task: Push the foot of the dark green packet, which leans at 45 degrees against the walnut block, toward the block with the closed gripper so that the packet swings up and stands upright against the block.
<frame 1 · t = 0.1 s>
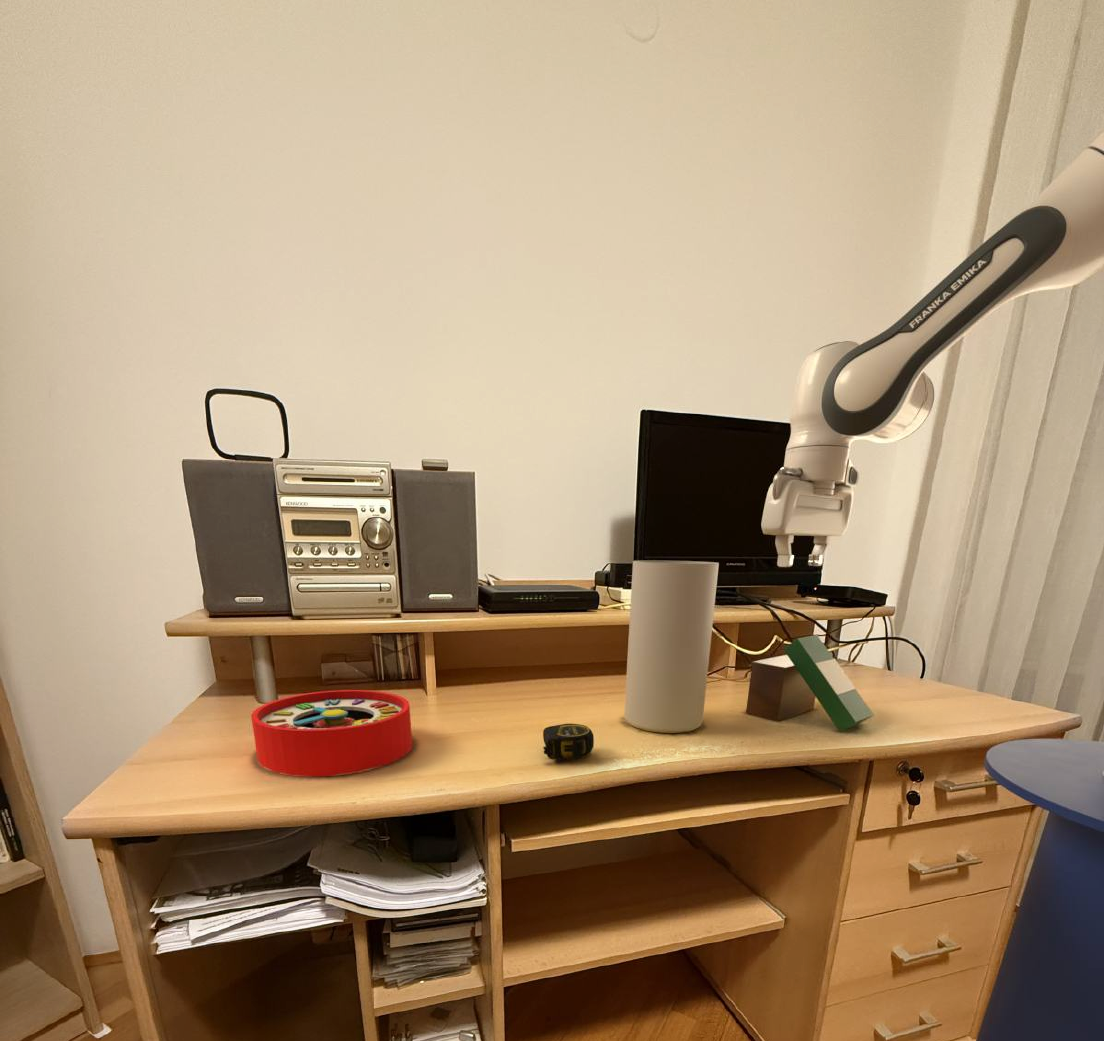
hand: (800, 566, 92), 24 cm above the table, tool pointing down, fingers open, 8 cm apart
cylinder vase: (662, 723, 94), on the table
tape measure: (563, 757, 79), on the table
block: (780, 711, 102), on the table
packet: (827, 681, 94), point 7 cm above the table, touching block
toy clock: (338, 750, 80), on the table
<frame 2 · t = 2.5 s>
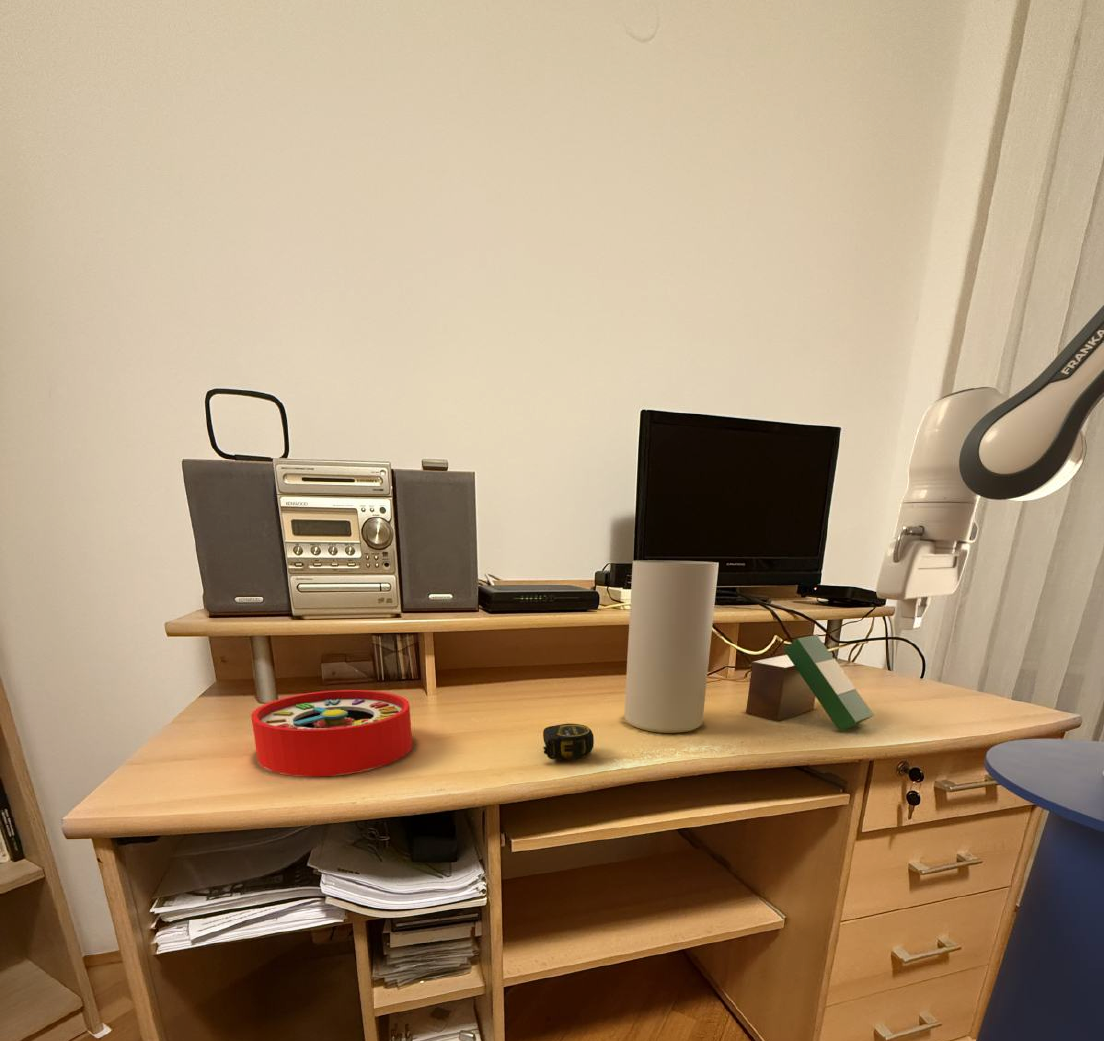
hand: (909, 629, 84), 16 cm above the table, tool pointing down, fingers closed
nothing on the table moved.
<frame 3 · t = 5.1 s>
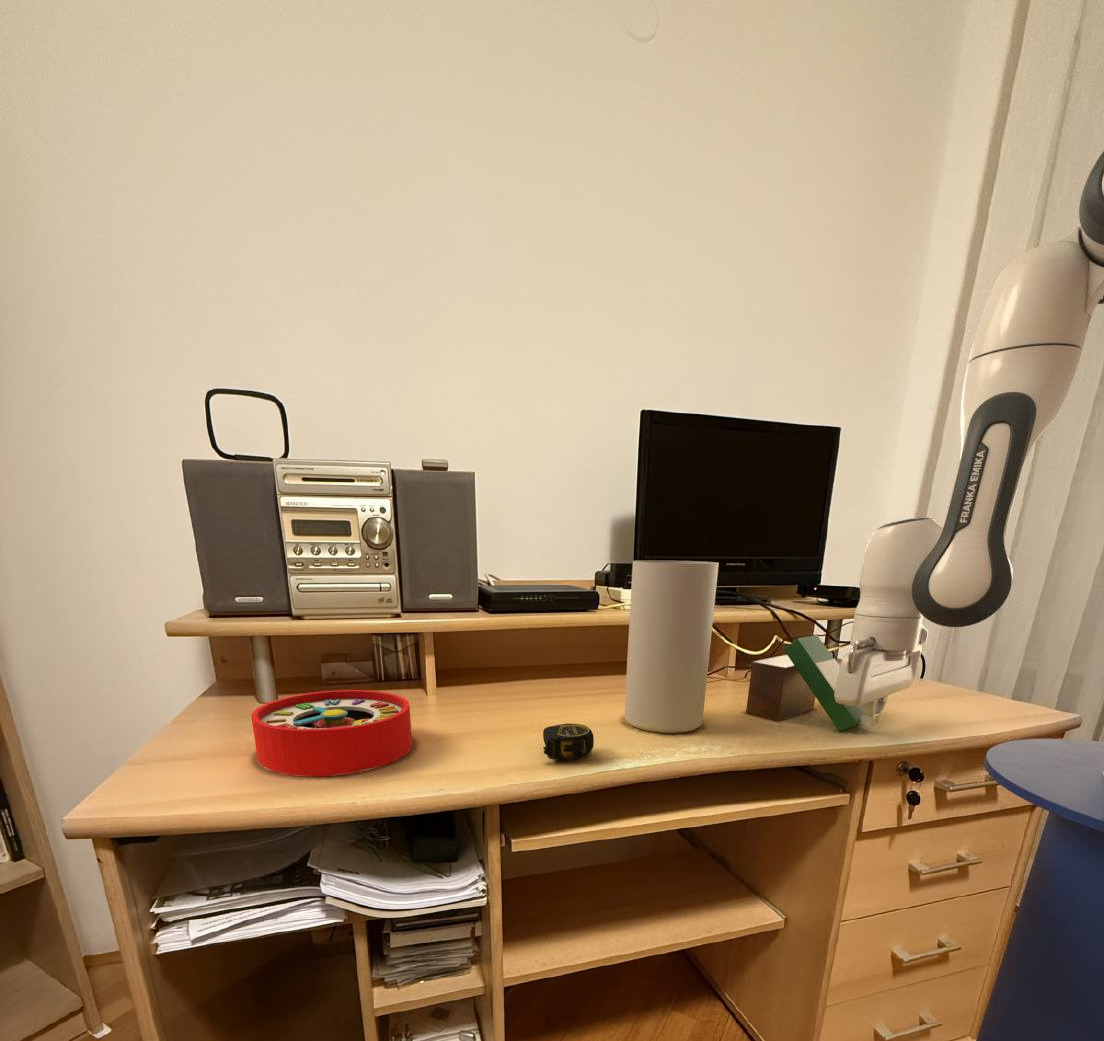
hand: (869, 724, 91), 1 cm above the table, tool pointing down, fingers closed, pressing on packet
packet: (827, 681, 94), point 7 cm above the table, touching block, gripper
everything else where it was.
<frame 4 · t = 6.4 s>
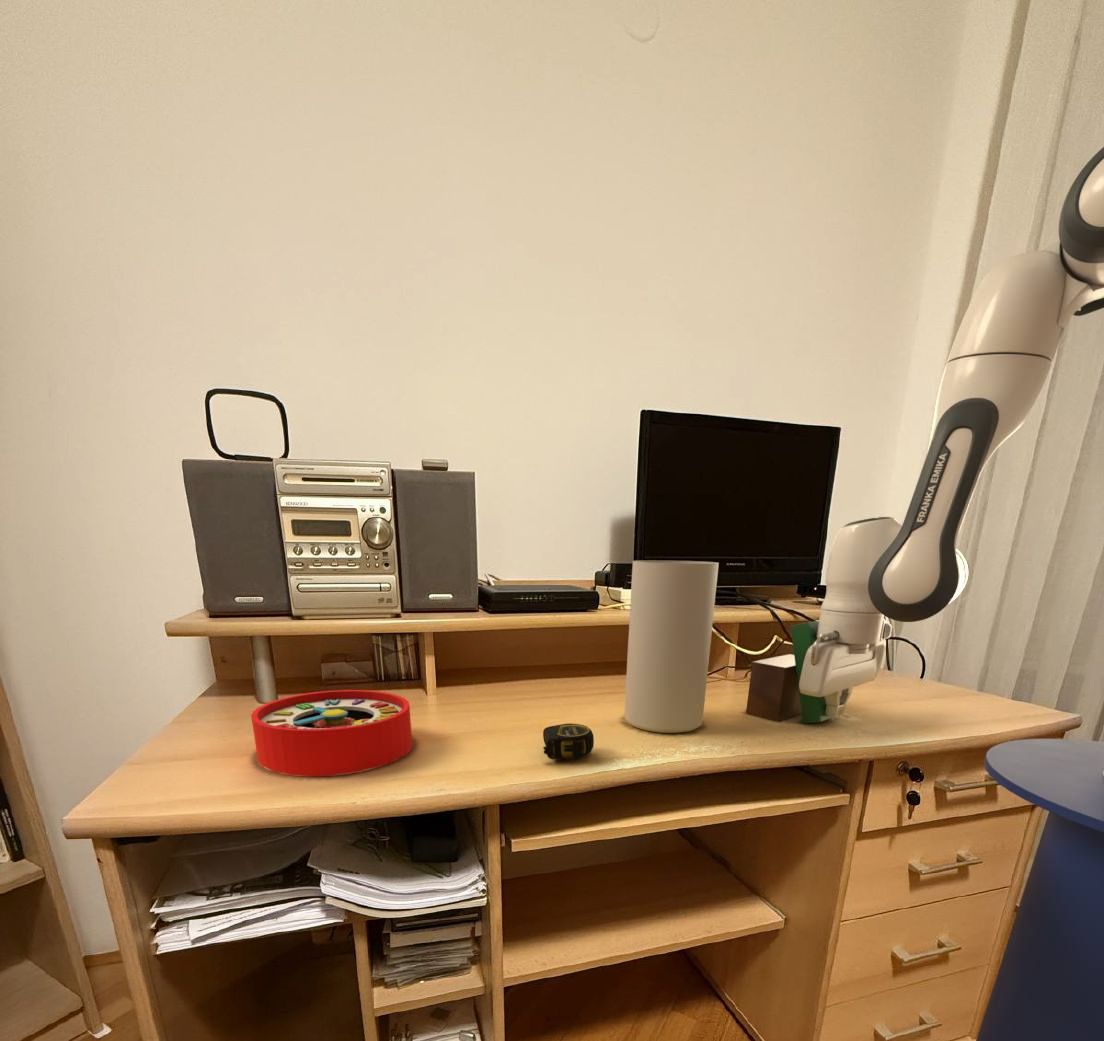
hand: (834, 714, 95), 2 cm above the table, tool pointing down, fingers closed, pressing on packet
packet: (815, 671, 96), point 8 cm above the table, tilted 28°, touching arm, gripper
everything else where it was.
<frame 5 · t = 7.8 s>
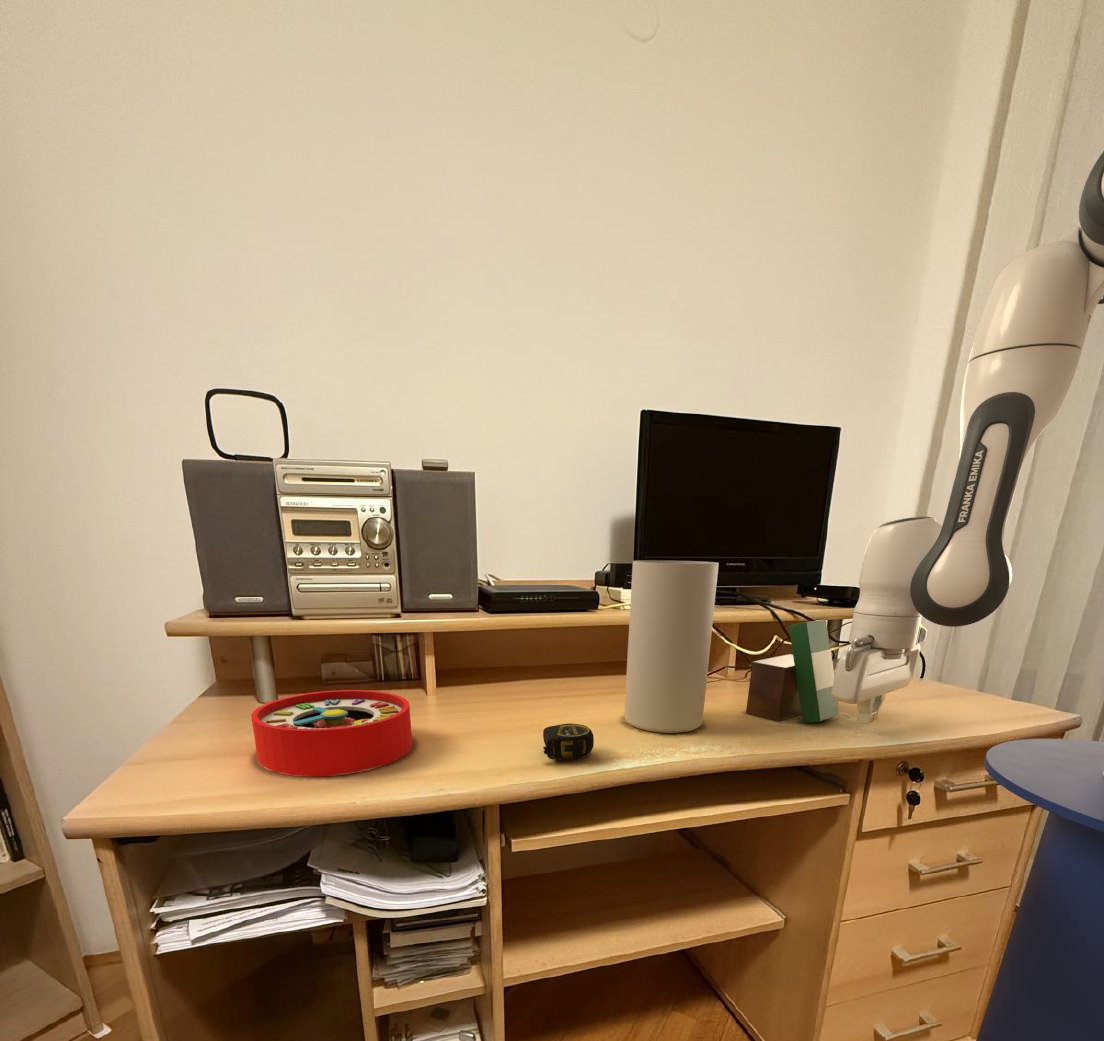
hand: (866, 722, 91), 2 cm above the table, tool pointing down, fingers closed
packet: (814, 670, 96), point 8 cm above the table, tilted 27°, touching block
everything else where it was.
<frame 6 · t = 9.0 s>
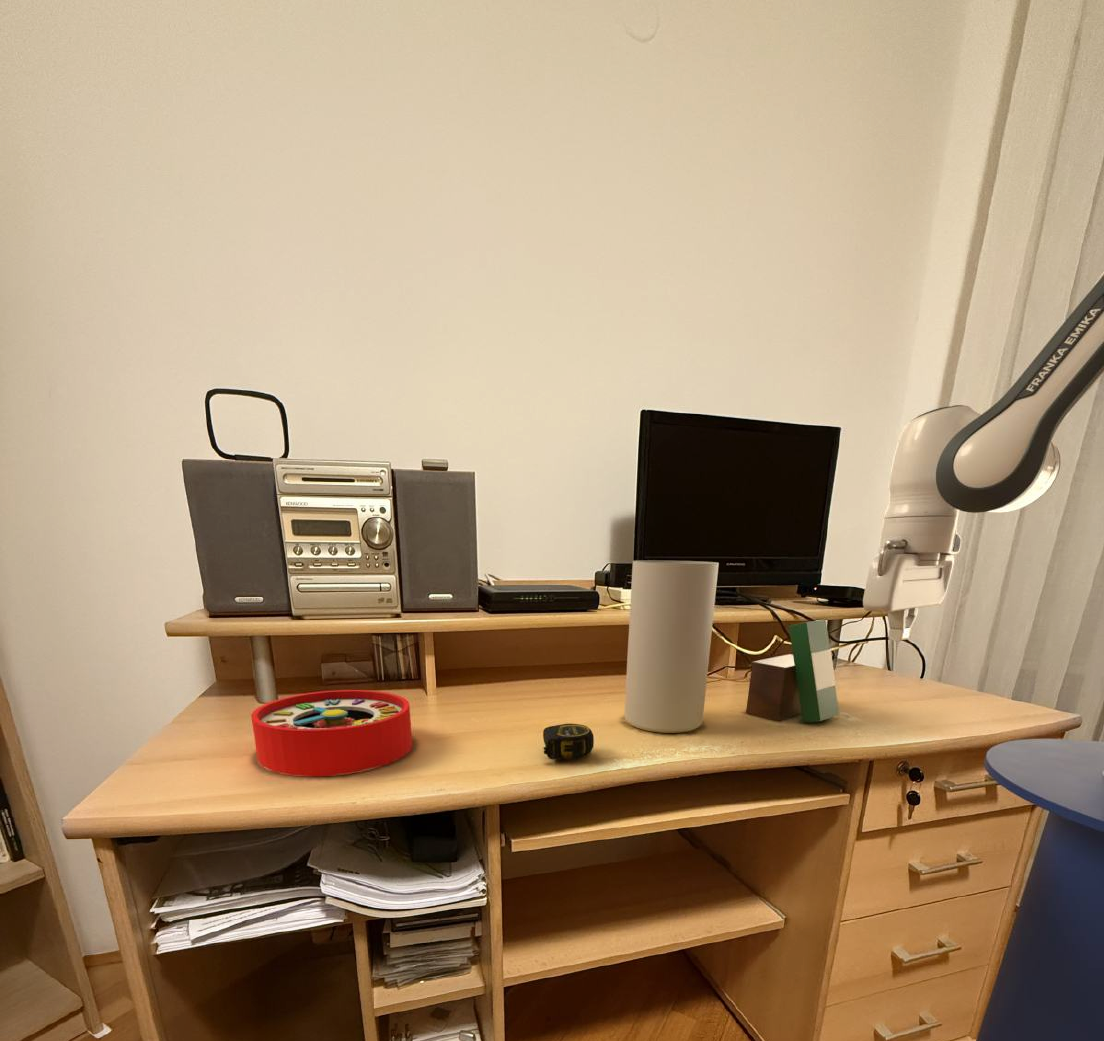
hand: (898, 640, 85), 15 cm above the table, tool pointing down, fingers closed
nothing on the table moved.
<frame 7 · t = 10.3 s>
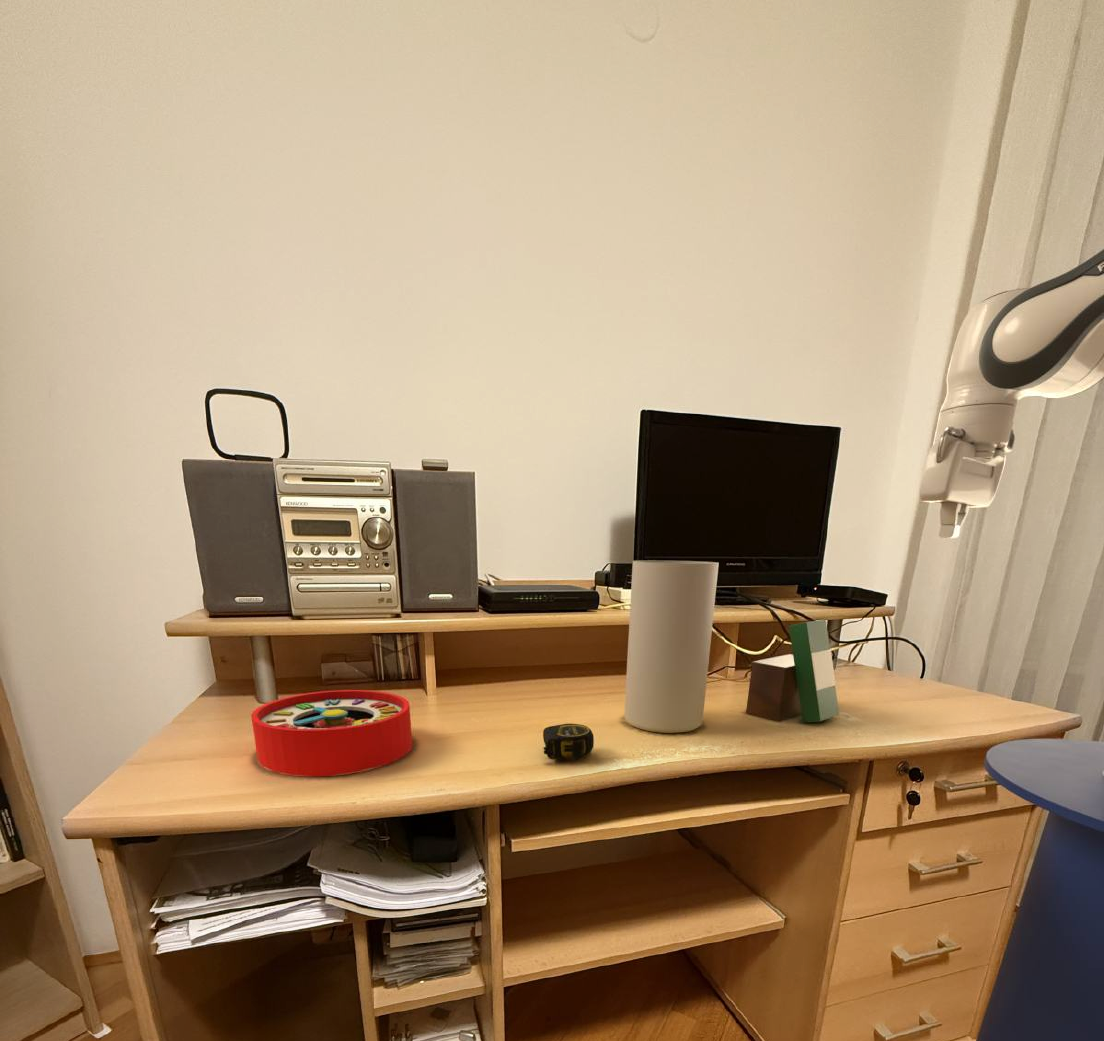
hand: (948, 537, 86), 29 cm above the table, tool pointing down, fingers closed
nothing on the table moved.
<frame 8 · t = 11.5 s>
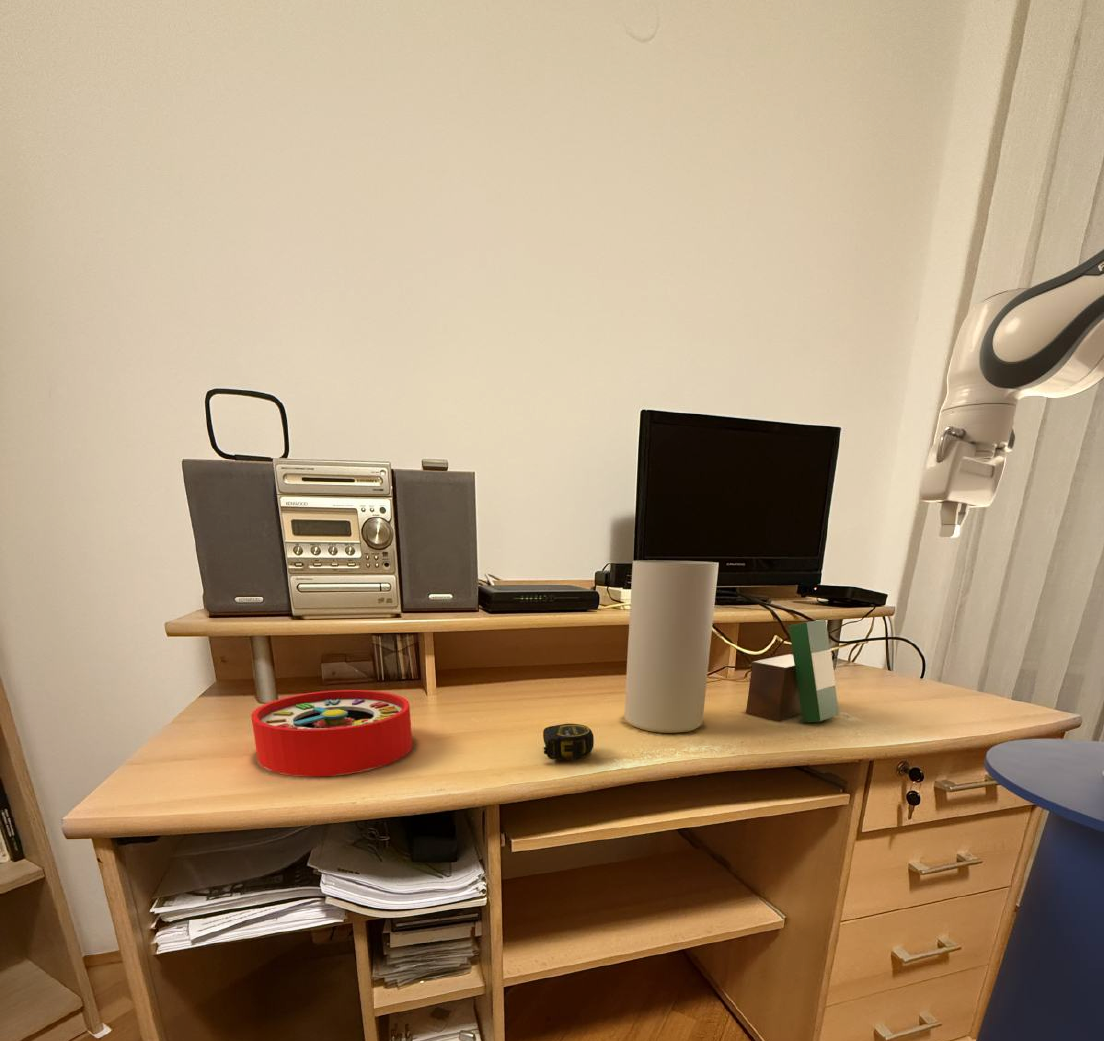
hand: (948, 537, 86), 29 cm above the table, tool pointing down, fingers closed
nothing on the table moved.
at the end: packet 0.7 cm from the target spot on the block, point 8.1 cm above the block's base; packet touching block, table; tape measure moved 0.2 cm from its start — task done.
